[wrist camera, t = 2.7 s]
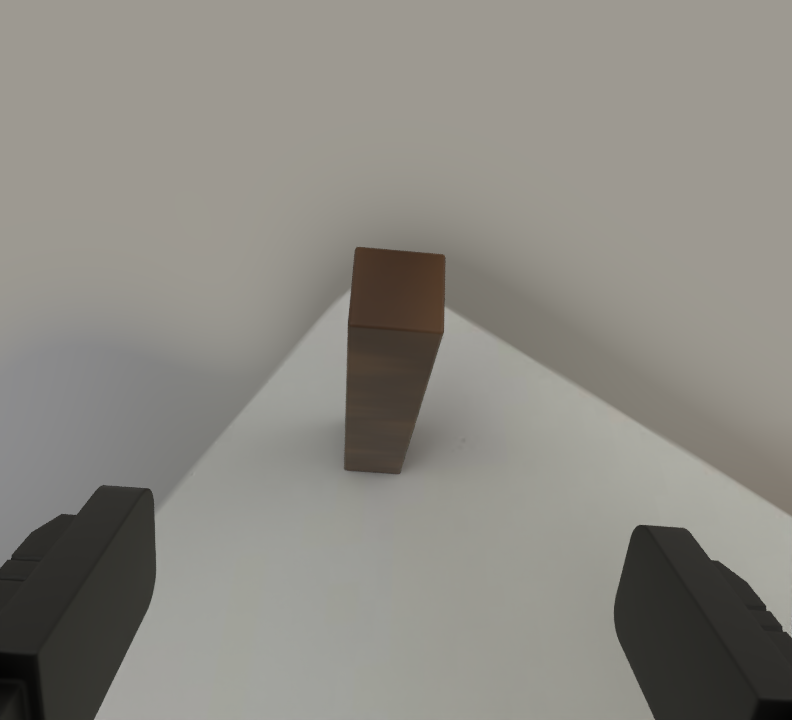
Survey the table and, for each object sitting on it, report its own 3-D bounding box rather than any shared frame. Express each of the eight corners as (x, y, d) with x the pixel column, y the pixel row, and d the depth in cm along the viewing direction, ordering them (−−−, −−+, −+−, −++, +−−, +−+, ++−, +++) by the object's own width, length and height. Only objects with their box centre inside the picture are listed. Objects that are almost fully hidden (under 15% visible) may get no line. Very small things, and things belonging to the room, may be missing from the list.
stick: (343, 470, 28) (347, 325, 16) (348, 417, 29) (355, 245, 17) (399, 474, 28) (444, 333, 16) (402, 421, 29) (445, 253, 17)
